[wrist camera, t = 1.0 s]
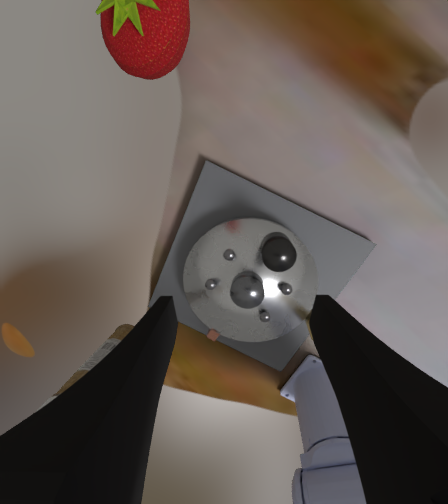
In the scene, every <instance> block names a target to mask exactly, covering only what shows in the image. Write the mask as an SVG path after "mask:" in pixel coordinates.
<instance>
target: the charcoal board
mask: <svg viewBox="0 0 448 504" xmlns="http://www.w3.org/2000/svg"><path fill="white" fill-rule="evenodd" d="M241 217H257V218H263V219H268V220H271V221H274V222H276V223H278V224H280V225H282V226H284V227H286V228H287V229H289V230H290V231H292V232H293V233H294V234H295V235H296V236H297V237H298V238H299V239H300V240H301V241H302V243H303V244H304V245H305V246H306V247H307V249H308V250H309V252H310V254H311V255H312V257H313V260H314V262H315V265H316V269H317V273H318V292H317V295H329V296H331V297H332V298H333V299H334V300H335V299H336V298H337V297H338V295H339V294H340V293H341V291H342V290H343V289H344V287H345V286H346V285H347V283H348V282H349V281H350V280H351V278H352V277H353V276H354V274H355V273H356V272H357V270H358V269H359V268H360V266H361V265H362V264H363V262H364V261H365V260H366V258H367V257H368V256H369V254H370V253H371V252H372V250H373V249H374V248H375V246H376V245H377V244H375V243H373V242H371V241H369V240H367V239H365V238H363V237H361V236H359V235H357V234H355V233H353V232H351V231H349V230H346V229H344V228H342V227H340V226H338V225H336V224H334V223H332V222H330V221H328V220H326V219H324V218H322V217H320V216H318V215H316V214H314V213H312V212H310V211H308V210H306V209H304V208H302V207H300V206H298V205H296V204H294V203H292V202H290V201H288V200H286V199H284V198H282V197H280V196H278V195H276V194H273V193H271V192H269V191H267V190H265V189H263V188H261V187H259V186H257V185H255V184H253V183H251V182H249V181H247V180H245V179H243V178H241V177H239V176H237V175H235V174H233V173H231V172H229V171H227V170H225V169H223V168H221V167H219V166H217V165H215V164H213V163H211V162H209V161H207V160H206V162H205V164H204V167H203V169H202V172H201V174H200V177H199V179H198V182H197V184H196V187H195V189H194V192H193V194H192V197H191V199H190V202H189V205H188V207H187V210H186V212H185V215H184V217H183V220H182V222H181V225H180V227H179V230H178V232H177V235H176V237H175V240H174V242H173V245H172V247H171V250H170V252H169V255H168V257H167V260H166V262H165V265H164V267H163V270H162V272H161V275H160V277H159V280H158V283H157V285H156V288H155V290H154V293H153V295H152V298H151V300H150V303H149V305H148V307H150V308H151V307H152V305H153V304H154V303H155V302H156V300H157V299H158V298H159V297H160V296H173V301H174V306H175V311H176V316H177V321H178V322H180V323H182V324H185V325H187V326H189V327H191V328H193V329H195V330H197V331H199V332H201V333H203V334H205V335H207V333H208V330H209V327H207V326H206V325H205V324H204V323H203V322H202V321H201V320H200V319H199V318H198V317H197V316H196V314H195V313H194V312H193V310H192V308H191V307H190V305H189V303H188V300H187V298H186V295H185V291H184V285H183V272H184V266H185V263H186V259H187V257H188V255H189V253H190V251H191V249H192V248H193V246H194V245H195V243H196V242H197V241H198V240H199V239H200V238H201V237H202V236H203V235H204V234H205V233H206V232H208V231H209V230H210V229H212V228H213V227H215V226H216V225H218V224H220V223H222V222H225V221H228V220H231V219H235V218H241ZM312 308H313V307H312ZM311 310H312V309H311ZM309 334H310V333H309V331H308V328H307V325H306V322H305V320H304V321H303V322H302V323H301V324H300V325H299V326H297V327H296V328H295V329H293V330H292V331H290V332H289V333H287V334H285V335H283V336H281V337H278V338H275V339H272V340H268V341H262V342H244V341H238V340H234V339H230V338H227V337H225V336H222V335H219V336H218V337H217V339H216V340H217V341H219V342H221V343H223V344H225V345H227V346H229V347H231V348H233V349H235V350H237V351H240V352H242V353H244V354H246V355H248V356H250V357H252V358H254V359H256V360H258V361H260V362H262V363H264V364H266V365H268V366H270V367H272V368H274V369H276V370H278V371H280V372H281V371H282V370H283V368H284V367H285V366H286V365H287V363H288V362H289V361H290V359H291V358H292V357H293V355H294V354H295V353H296V351H297V350H298V349H299V347H300V346H301V345H302V343H303V342H304V341H305V339H306V338H307V337H308V335H309Z"/></svg>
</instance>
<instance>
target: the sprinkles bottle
mask: <svg viewBox="0 0 448 504" xmlns="http://www.w3.org/2000/svg"><path fill="white" fill-rule="evenodd" d="M134 327H135V326H132V325H129V324H124V325H121V326H119V327H118V328H117V329H116V330H115V332H114V333H113V335H111V336H110V337H109V338H108V339H107V340H106V341H105V342H104V343H103V344H102V345H101V346H100V348H99V349H98V350H97V351H96V352H95V353H94V354H93V355H92V356H91V357H90V358H89V359H88V360H87V361H86V362H85V363H84V364H83V365H82V366H81V367H80V368H79V369H78V370H77V372H76V373H75V374H74V375H73V376H72V377H71V378H70V379H69V380H68V381H67V382H66V383H65V384H64V386H62V387H61V389H60V390H59V391H58V392H57V393H56V394H54V395H53V396H52V397H50V398H49V399H48V400H46V402H45V403H44V404H43V405H42V406H41V407H40V408H39V409H41V408H42V407H44V406H45V405H46V404H48V403H49V402H50V401H52V400H53V399H54V398H56V397H57V396H58V395H60V394H61V393H62V392H64V391H65V390H66V389H68V388H69V387H70V386H72V385H73V384H74V383H75V382H76V381H78V380H79V379H80V378H81V377H83V376H84V375H85V374H86V373H87V372H88V371H90V370H91V369H92V368H93V367H94V366H95V365H97V364H98V363H99V362H100V361H101V360H102V359H103V358H104V357H105V356H106V355H107V354H109V353H110V352H111V351H112V350H113V349H114V348H115V347H116V346H117V345H118V344H119V343H120V342H121V340H122V339H123V338H124V337H125V336H126V335H127V334H128V333H129V332H130V331H131V330H132V329H133V328H134ZM39 409H38V410H39ZM38 410H37V411H38ZM37 411H36V412H37Z"/></svg>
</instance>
